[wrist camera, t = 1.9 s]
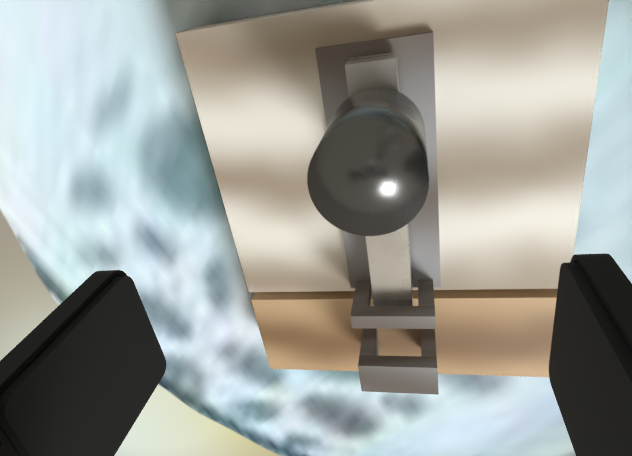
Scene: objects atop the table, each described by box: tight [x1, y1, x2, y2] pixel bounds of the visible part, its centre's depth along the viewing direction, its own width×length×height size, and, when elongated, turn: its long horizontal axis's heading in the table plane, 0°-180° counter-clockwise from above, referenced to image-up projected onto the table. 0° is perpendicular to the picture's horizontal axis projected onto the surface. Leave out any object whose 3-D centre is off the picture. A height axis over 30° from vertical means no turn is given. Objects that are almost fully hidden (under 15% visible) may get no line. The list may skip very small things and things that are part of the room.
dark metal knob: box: [307, 52, 429, 306], centre depth 19 cm, size 13×4×7 cm, turn 9°
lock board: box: [175, 0, 609, 394], centre depth 24 cm, size 22×18×6 cm
